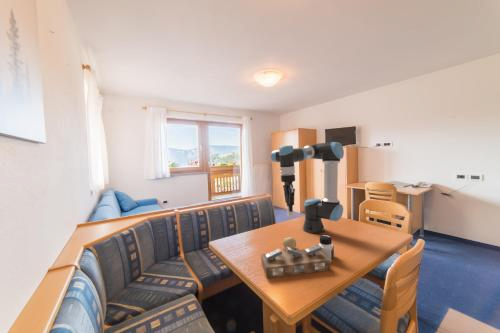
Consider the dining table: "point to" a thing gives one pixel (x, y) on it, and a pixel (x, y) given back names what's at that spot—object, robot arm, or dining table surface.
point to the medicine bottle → (327, 246)
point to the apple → (289, 243)
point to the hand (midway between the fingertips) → (290, 216)
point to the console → (294, 264)
